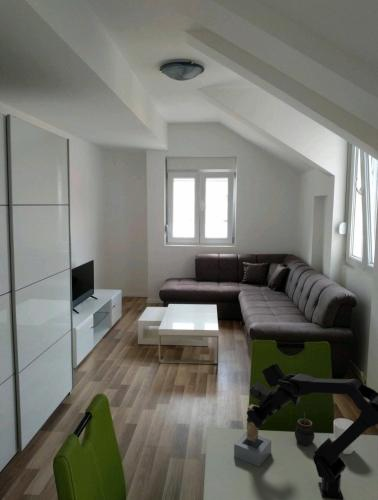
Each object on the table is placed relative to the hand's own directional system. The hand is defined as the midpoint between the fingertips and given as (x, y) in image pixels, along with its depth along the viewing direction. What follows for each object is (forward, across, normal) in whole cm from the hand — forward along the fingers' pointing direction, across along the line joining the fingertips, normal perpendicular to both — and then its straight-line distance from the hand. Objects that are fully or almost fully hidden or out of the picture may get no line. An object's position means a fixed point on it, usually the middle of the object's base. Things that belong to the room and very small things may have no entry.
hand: (249, 418), depth 145 cm
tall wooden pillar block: (+4, 0, +6) cm, 7 cm away
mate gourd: (0, -19, +20) cm, 28 cm away
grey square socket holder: (+8, 0, +10) cm, 14 cm away
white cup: (-10, -23, +30) cm, 39 cm away
